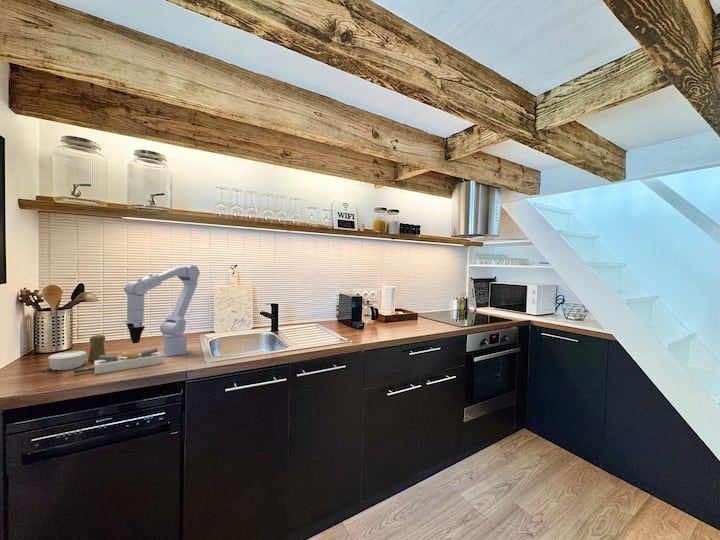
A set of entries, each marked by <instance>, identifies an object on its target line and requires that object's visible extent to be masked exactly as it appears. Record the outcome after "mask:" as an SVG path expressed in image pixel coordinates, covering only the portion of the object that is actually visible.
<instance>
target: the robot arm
mask: <svg viewBox="0 0 720 540" xmlns="http://www.w3.org/2000/svg"><path fill="white" fill-rule="evenodd" d="M200 274H201V271H200V269H199V268H198V266H196V265H194V264H193V265H188V264H187V265H186V264H185V265H184V264H179V265H178V264H177V265H175V266H173V267H171V268H170V269H167V270H165V271H163V272H161V273H159V274H156V273H149V274H147V276H145V277H142V278H137V280H136V281H134V280H133V281H130V282H127V283H126V285H125V287H124V288H123V290H124V292H125V294H126V297H127V302H126V304H127V305H126V307H127V308H126V310H127V311H126V319H123V323H125V324H126V325H125V326H127V329H128V332H129V337H130V340H131V342H132V344H138V343H140V341H141V335H142V333H143V331H144V329H145V328H146V326H145V325H143V323H144V322H145V319H144V318H145V317H144V316H145V295H146V294H147V293H148V291H150V290H153V289H155V288H157V287H159V286H160V285H162V282H164V281H166V280H168V279H172V278H174V277H177V278H178V279H179V281H181V282H182V285H183V286H182V290H181V291H180V294H179V296H178V298H177V300H176V303H175V306H174V308H173V310H172V312H171V314H170V315H169V316H167V317H166V318H165V320H164V321H163V322H162V323H161V325H160V326H159V327H160V328H159V331H160V333H161V334H162V336H163V340H162V341H163V346H162V351H160V353H161V355H162V358H167V357H174V356H179V355H187V342H188V341H187V339H188V338H187V335H186V334H185V331H186V324H187V320H186V319H185V315H186V313H187V311H188V308H189V306H190V303H191V301H192V298H193V296H194V294H195V291H196V288H197V287H198V278H199V276H200Z"/></svg>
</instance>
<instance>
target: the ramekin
mask: <svg viewBox="0 0 720 540" xmlns="http://www.w3.org/2000/svg"><path fill="white" fill-rule="evenodd" d="M86 356H87V352H86V351H85V350H71V351H64V352H58V353H54V354H50V355H49V356H48V357H47V360H48V362H49V367H50V370H52V371H55V370H59V371H60V370H62V371H69V369H70V370H74V369H77V367H78V368H79V367H80V368H81V367H82V366H83V365H84V364H85V361H86ZM59 371H58V372H59ZM60 372H61V371H60Z"/></svg>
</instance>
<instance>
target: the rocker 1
mask: <svg viewBox="0 0 720 540" xmlns="http://www.w3.org/2000/svg"><path fill="white" fill-rule="evenodd" d="M117 358H118V355H113V354H112V355H111V354H109V355H108V354H105V355H100V356H99V360H117Z"/></svg>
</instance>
